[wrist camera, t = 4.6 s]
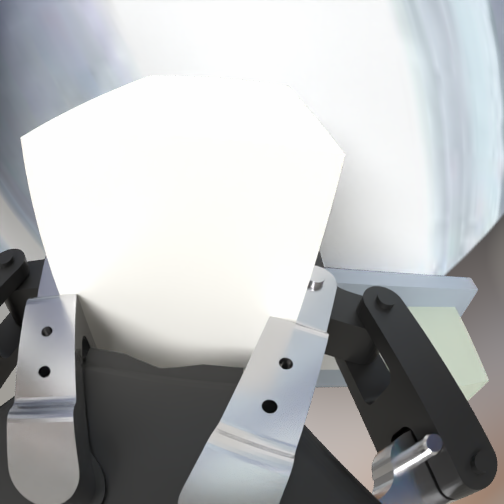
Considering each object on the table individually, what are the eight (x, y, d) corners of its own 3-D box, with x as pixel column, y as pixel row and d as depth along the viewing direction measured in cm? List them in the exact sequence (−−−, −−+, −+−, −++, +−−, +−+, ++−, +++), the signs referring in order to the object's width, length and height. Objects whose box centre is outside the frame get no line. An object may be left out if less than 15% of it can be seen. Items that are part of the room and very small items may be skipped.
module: (155, 282, 16) (118, 418, 10) (149, 75, 10) (20, 137, 4) (253, 292, 16) (254, 434, 10) (287, 85, 10) (345, 155, 4)
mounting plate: (147, 361, 30) (128, 441, 22) (120, 250, 21) (70, 353, 14) (407, 371, 31) (426, 442, 23) (470, 277, 22) (516, 361, 15)
